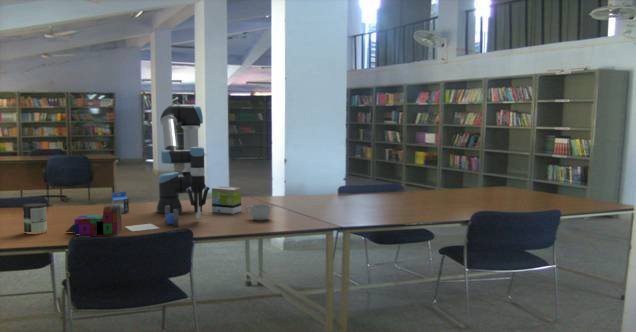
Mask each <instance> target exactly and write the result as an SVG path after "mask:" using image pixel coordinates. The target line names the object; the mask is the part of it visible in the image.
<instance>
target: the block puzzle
mask: <svg viewBox="0 0 636 332" xmlns="http://www.w3.org/2000/svg"><path fill="white" fill-rule="evenodd" d="M97 228H98V229H101V231H103V236H113V235H114V236H115V235H119V233H120V232H121V231H122V229H123V226H122V213H121V207H120V205H112V204H104V206H103V210H102V214H80V215H79V216H76V218H74V223H73V224H72V225H71V226H70V227H69V228H68V229H67V230H66V231H65V233H66V232H75V234H74V236H75V235H76V234H80V235H90V236H97V235H98V229H97Z"/></svg>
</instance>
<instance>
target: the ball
mask: <svg viewBox="0 0 636 332" xmlns="http://www.w3.org/2000/svg"><path fill="white" fill-rule="evenodd" d="M166 222H167V223H166V224H168V225H173V226H174V217H173V213H170V214H168V215H167V216H166Z"/></svg>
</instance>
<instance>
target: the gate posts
mask: <svg viewBox="0 0 636 332" xmlns="http://www.w3.org/2000/svg"><path fill="white" fill-rule="evenodd" d="M179 213H180V212H179V211H178V209H173V217H174V224H173V227H174V228H178V227H180V221H179V220H180V219H179V218H180V217H179V216H180V215H179ZM168 214H170V206H165V213H164V224H168V223H167V222H166V216H167V215H168Z"/></svg>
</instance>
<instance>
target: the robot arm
mask: <svg viewBox="0 0 636 332" xmlns="http://www.w3.org/2000/svg"><path fill="white" fill-rule="evenodd" d="M203 122H204V117H203V112H202V108H201V106H200V105H199V104H171V105H169V106H168V107H166V108H165V109H164V110H163V111H162V112H161V115H160V126H161V127H162V133H163V146H164V147H163V148H164V149H163V150H161V152H160V153H161V163H162V164H170V165H171V164H173V165H174V164H184V169H183V170H182V171H181V174H180V173H179V172H177V171H176V172H175V171H173V172H167V173H162V174H159V176H158V191H159V192H158V202H157V204H156V205H157V206H156V213H157V214H158V213H159V214H165V206H170V213H173V209H178V211H179V213H180V212H183V206H182V203H181V200H180V194H187V195H188V197H189V203H190V205H191V206H193V207H194V208H193V210H194V213H195V219H201V218H202V217H201V213H202V212H203V206H206V202H207V197H208V192H209V190H210V187H209V186H206V180H205V179H206V178H205V148H204V147H202V146H199V129H200V128H201V125H202V124H203ZM177 124H179V125H180V127H181V128H182V129H183V147H184V148H183V149H179V142H178V134H177V133H178V132H177Z"/></svg>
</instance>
